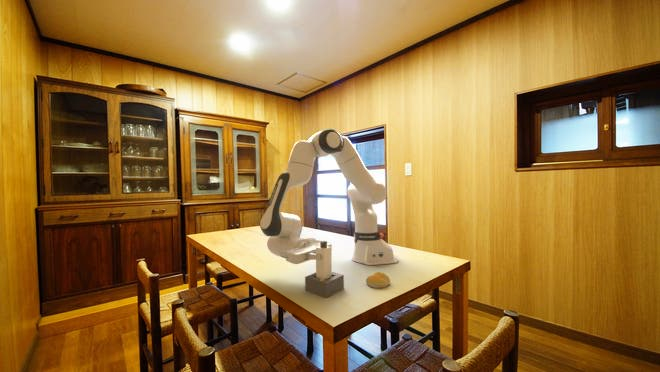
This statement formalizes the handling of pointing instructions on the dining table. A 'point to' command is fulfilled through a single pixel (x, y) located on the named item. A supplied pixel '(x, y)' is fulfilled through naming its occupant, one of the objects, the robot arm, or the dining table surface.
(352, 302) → the dining table surface
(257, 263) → the dining table surface
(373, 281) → the bread roll
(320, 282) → the socket block
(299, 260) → the robot arm
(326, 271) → the plug
